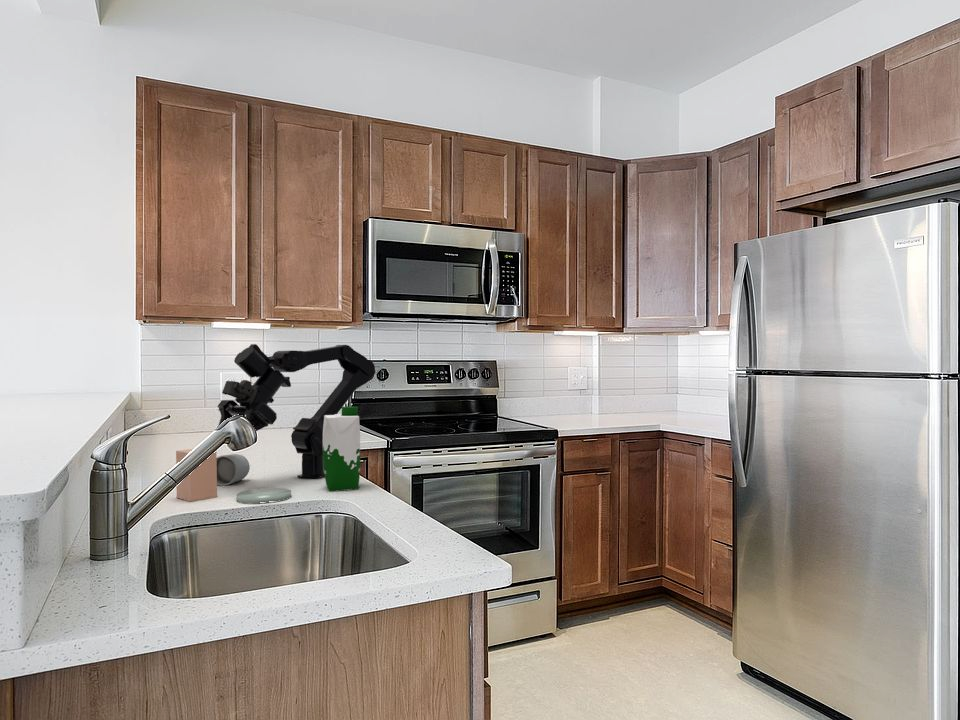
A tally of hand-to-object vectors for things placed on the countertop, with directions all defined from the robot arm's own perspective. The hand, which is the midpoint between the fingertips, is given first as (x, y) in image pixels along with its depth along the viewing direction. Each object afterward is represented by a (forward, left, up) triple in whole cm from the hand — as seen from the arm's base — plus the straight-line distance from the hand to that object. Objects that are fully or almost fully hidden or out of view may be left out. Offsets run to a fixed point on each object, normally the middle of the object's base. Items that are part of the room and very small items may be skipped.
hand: (225, 438), depth 156 cm
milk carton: (-11, +25, -13) cm, 31 cm away
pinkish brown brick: (+7, -3, -13) cm, 15 cm away
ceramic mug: (-10, -8, -13) cm, 18 cm away
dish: (+4, +13, -13) cm, 19 cm away
